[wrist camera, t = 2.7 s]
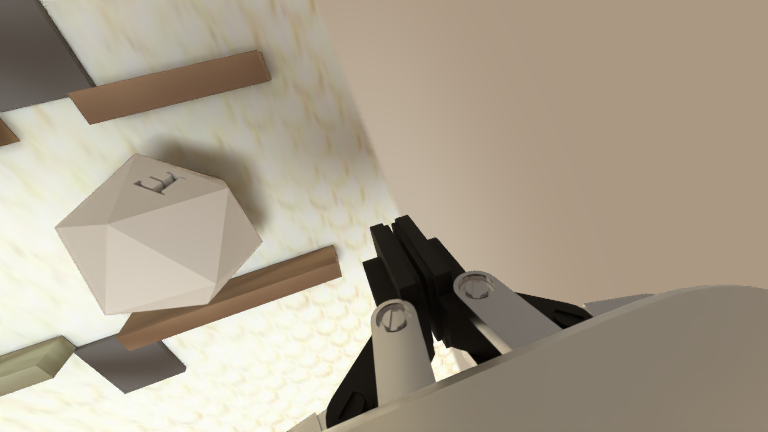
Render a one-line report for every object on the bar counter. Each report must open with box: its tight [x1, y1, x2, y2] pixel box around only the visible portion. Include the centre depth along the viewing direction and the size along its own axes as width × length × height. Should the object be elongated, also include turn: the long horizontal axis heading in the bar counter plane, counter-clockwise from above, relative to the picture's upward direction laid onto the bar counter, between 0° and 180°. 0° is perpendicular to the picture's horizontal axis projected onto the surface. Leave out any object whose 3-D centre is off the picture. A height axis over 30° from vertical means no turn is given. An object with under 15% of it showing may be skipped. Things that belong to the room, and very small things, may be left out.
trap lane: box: [0, 0, 342, 396], centre depth 17 cm, size 28×32×4 cm
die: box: [55, 154, 263, 316], centre depth 17 cm, size 8×9×10 cm
